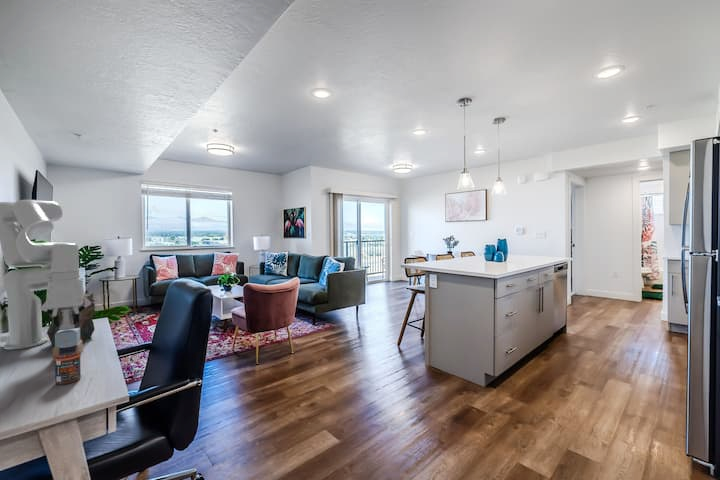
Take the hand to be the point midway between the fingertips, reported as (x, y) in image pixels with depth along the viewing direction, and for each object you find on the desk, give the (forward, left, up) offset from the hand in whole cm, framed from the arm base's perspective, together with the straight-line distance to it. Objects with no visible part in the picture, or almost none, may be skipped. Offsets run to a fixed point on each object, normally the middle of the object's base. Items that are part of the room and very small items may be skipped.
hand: (67, 324), depth 119 cm
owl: (-9, +18, -12) cm, 24 cm away
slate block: (0, 0, -7) cm, 7 cm away
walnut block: (0, 0, -12) cm, 12 cm away
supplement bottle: (+13, -23, -12) cm, 29 cm away
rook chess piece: (0, 0, -2) cm, 2 cm away
